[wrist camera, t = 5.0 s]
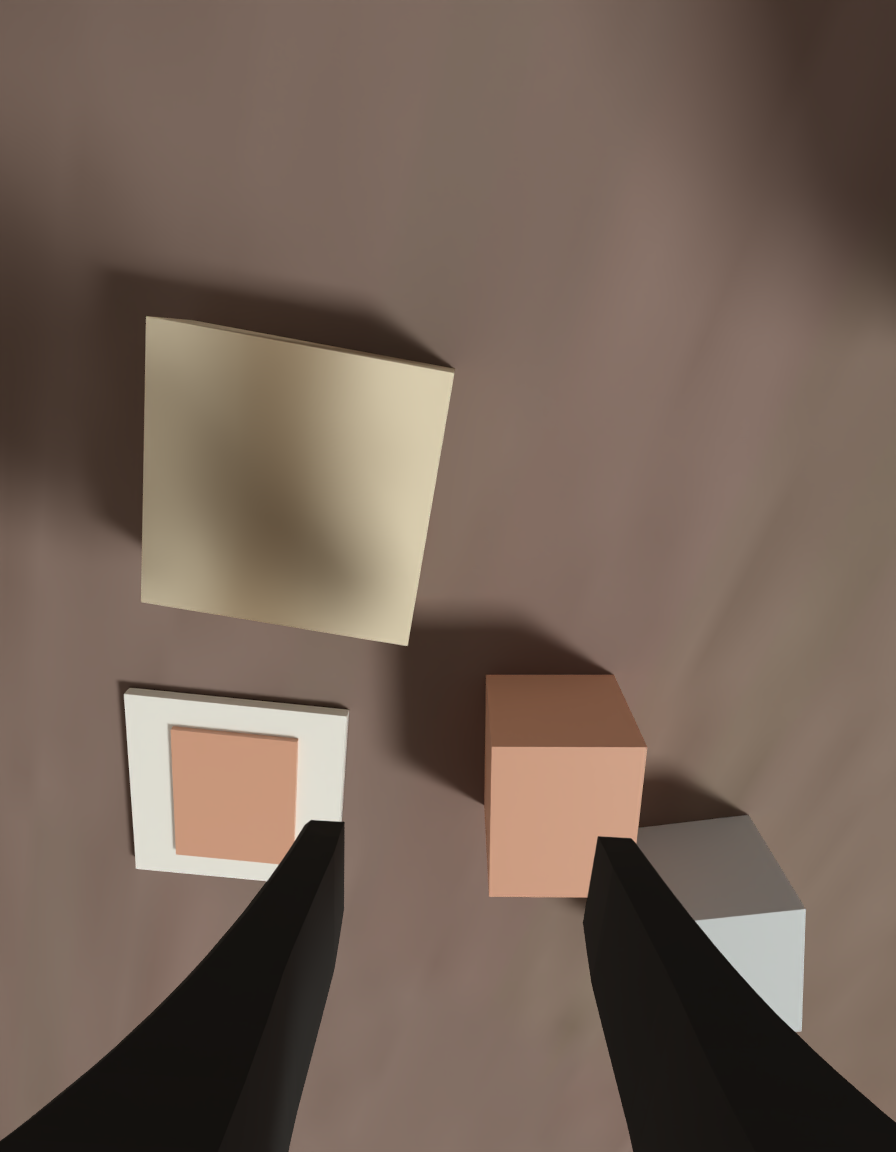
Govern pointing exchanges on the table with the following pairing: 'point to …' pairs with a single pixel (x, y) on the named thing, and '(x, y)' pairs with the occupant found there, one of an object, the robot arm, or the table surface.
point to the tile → (229, 779)
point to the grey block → (737, 902)
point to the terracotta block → (557, 780)
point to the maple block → (287, 478)
